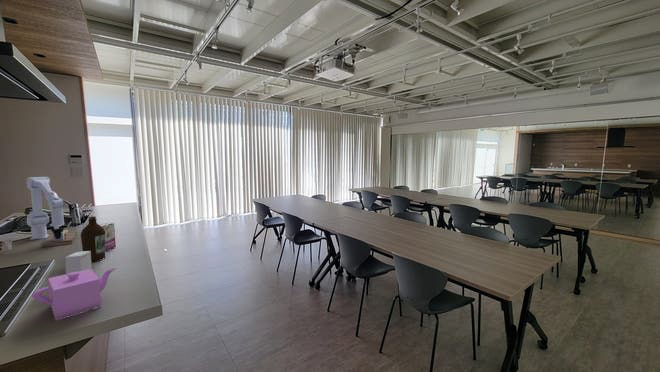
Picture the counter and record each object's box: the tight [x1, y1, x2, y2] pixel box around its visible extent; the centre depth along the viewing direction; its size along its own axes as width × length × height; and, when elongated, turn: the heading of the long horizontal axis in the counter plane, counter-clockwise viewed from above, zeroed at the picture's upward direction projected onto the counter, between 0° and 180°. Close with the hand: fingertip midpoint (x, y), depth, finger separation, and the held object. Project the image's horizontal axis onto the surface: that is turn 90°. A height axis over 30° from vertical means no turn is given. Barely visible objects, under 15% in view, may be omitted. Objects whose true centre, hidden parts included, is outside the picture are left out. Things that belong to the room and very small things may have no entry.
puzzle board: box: [41, 229, 78, 248], centre depth 188 cm, size 24×14×4 cm, turn 37°
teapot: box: [31, 267, 117, 321], centre depth 108 cm, size 15×25×14 cm, turn 140°
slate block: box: [51, 232, 65, 241], centre depth 183 cm, size 5×5×6 cm
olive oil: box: [80, 215, 107, 263], centre depth 155 cm, size 11×11×25 cm
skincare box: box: [64, 250, 93, 275], centre depth 126 cm, size 8×6×15 cm
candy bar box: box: [99, 222, 117, 251], centre depth 171 cm, size 11×5×16 cm, turn 179°
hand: (59, 237), depth 183 cm, fingers open, 7 cm apart
